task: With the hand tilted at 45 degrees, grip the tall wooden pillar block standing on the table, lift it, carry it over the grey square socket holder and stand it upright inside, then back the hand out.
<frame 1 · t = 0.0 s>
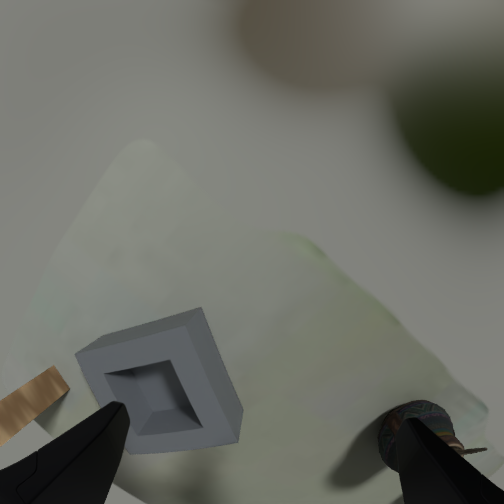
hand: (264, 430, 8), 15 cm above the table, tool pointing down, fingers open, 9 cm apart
tall wooden pillar block: (55, 381, 26), on the table
grey square socket holder: (170, 374, 25), on the table
mate gourd: (405, 418, 24), on the table
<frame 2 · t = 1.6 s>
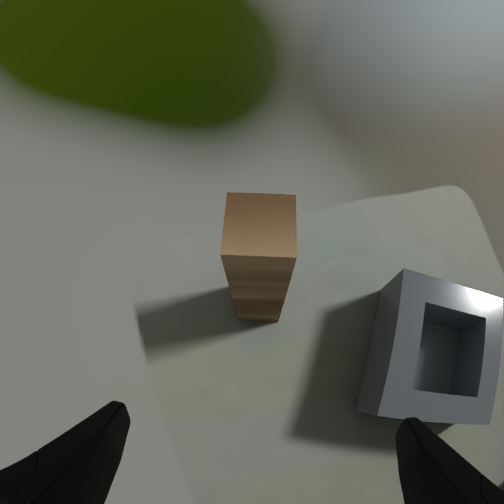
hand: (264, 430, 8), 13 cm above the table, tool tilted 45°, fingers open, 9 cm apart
tall wooden pillar block: (259, 302, 24), on the table
grey square socket holder: (422, 360, 21), on the table
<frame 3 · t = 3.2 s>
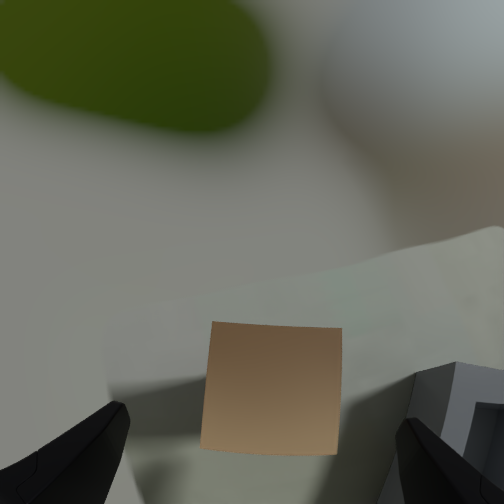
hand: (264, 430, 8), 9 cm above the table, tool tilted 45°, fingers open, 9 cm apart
tall wooden pillar block: (265, 393, 17), on the table
grey square socket holder: (455, 448, 14), on the table
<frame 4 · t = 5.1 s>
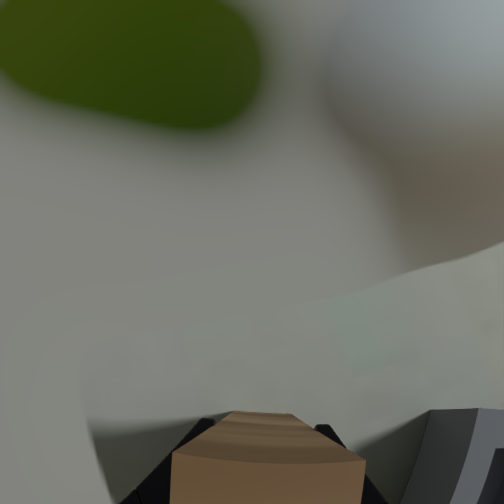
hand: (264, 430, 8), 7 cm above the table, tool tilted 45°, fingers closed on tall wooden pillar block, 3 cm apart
tall wooden pillar block: (260, 439, 14), on the table, touching gripper
grey square socket holder: (466, 485, 11), on the table
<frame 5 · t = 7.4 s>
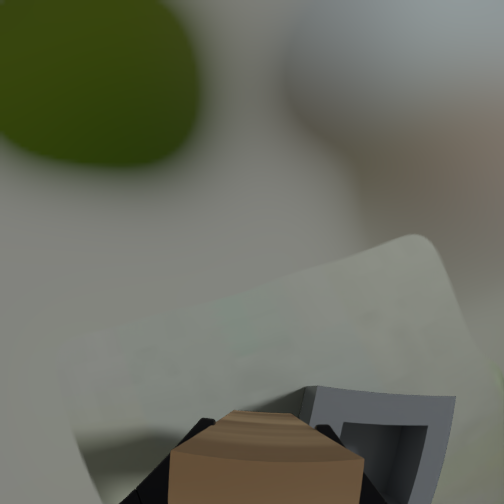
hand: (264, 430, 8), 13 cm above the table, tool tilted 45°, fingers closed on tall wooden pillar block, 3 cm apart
tall wooden pillar block: (260, 438, 14), point 6 cm above the table, touching gripper
grey square socket holder: (355, 455, 18), on the table
when the fingers open (9 cm above the table, at t = 9.7 s): tall wooden pillar block drops 1 cm, resting on grey square socket holder.
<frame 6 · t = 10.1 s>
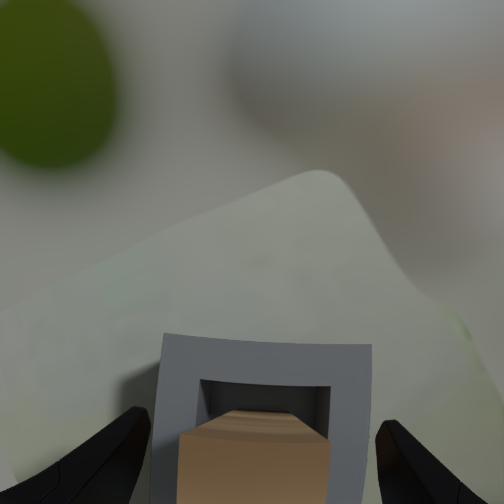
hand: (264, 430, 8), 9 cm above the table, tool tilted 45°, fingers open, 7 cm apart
tall wooden pillar block: (260, 434, 15), point 1 cm above the table, touching grey square socket holder
grey square socket holder: (260, 433, 16), on the table
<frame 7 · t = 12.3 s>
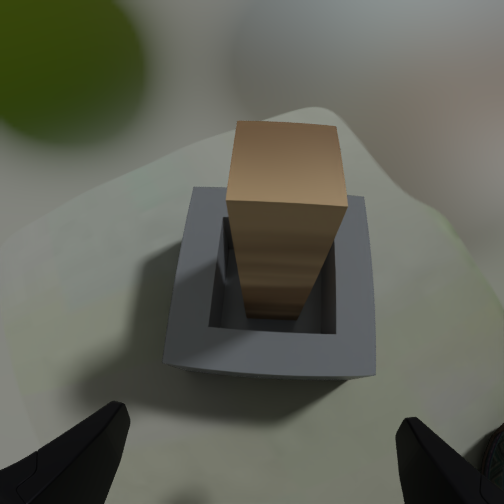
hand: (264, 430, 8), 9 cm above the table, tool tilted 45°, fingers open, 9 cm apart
tall wooden pillar block: (272, 295, 19), point 1 cm above the table, touching grey square socket holder
grey square socket holder: (272, 300, 20), on the table
mate gourd: (501, 451, 13), on the table
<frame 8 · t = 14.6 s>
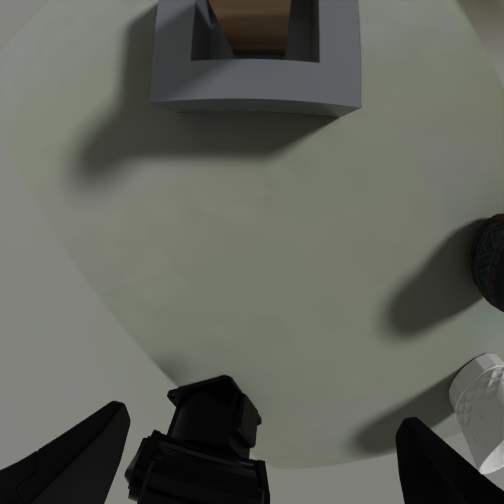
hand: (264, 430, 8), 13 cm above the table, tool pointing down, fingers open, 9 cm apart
white cup: (473, 377, 23), on the table
tall wooden pillar block: (259, 33, 15), point 1 cm above the table, touching grey square socket holder
grey square socket holder: (260, 38, 16), on the table
mate gourd: (492, 246, 19), on the table
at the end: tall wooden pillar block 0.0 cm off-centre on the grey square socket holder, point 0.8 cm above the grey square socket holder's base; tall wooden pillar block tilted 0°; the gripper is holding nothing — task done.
